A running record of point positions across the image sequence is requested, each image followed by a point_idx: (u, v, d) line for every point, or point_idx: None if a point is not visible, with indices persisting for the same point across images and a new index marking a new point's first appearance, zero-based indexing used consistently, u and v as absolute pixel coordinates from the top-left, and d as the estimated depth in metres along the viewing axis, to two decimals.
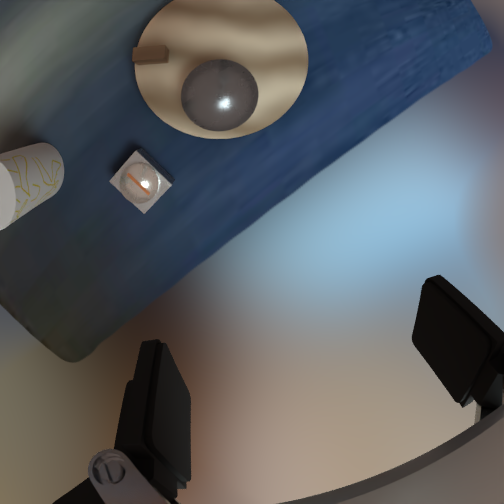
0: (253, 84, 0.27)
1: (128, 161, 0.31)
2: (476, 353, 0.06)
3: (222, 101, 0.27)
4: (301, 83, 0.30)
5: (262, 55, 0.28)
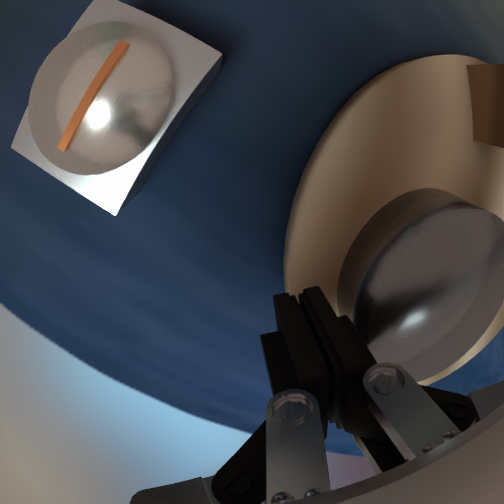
0: (455, 358, 0.11)
1: (175, 34, 0.07)
2: (331, 375, 0.07)
3: (437, 322, 0.09)
4: None
5: None
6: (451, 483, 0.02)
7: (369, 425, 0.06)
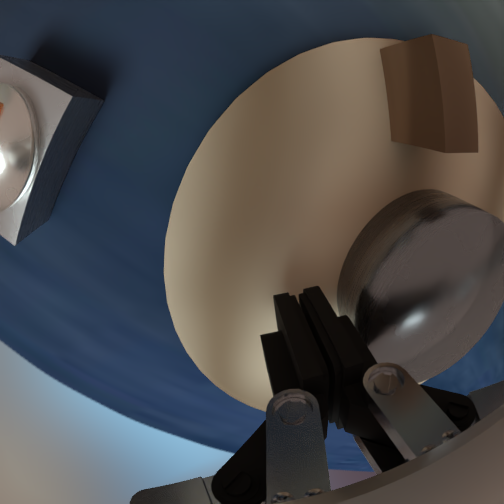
0: (454, 360, 0.11)
1: (38, 85, 0.06)
2: (331, 375, 0.07)
3: (437, 323, 0.09)
4: None
5: None
6: (451, 483, 0.02)
7: (369, 425, 0.06)
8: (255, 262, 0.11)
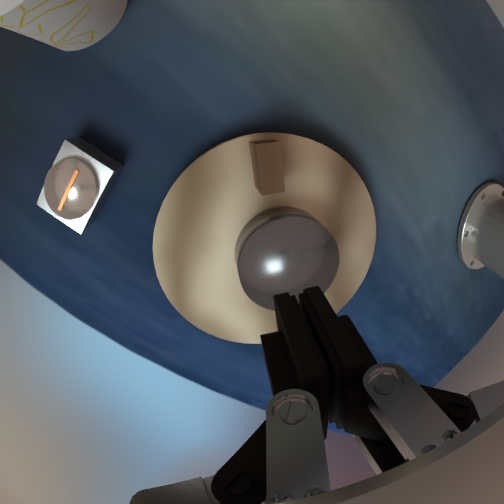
0: None
1: (96, 163, 0.19)
2: (331, 375, 0.07)
3: (281, 273, 0.22)
4: (256, 341, 0.29)
5: None
6: (451, 483, 0.02)
7: (369, 425, 0.06)
8: (192, 243, 0.24)
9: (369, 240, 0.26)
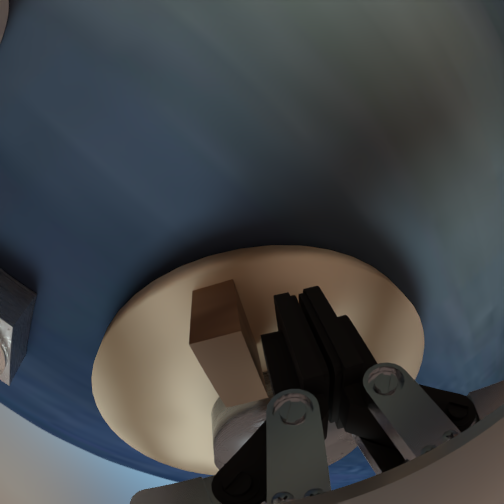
0: None
1: None
2: (331, 375, 0.07)
3: None
4: None
5: None
6: (451, 483, 0.02)
7: (369, 425, 0.06)
8: (151, 416, 0.14)
9: (412, 367, 0.15)
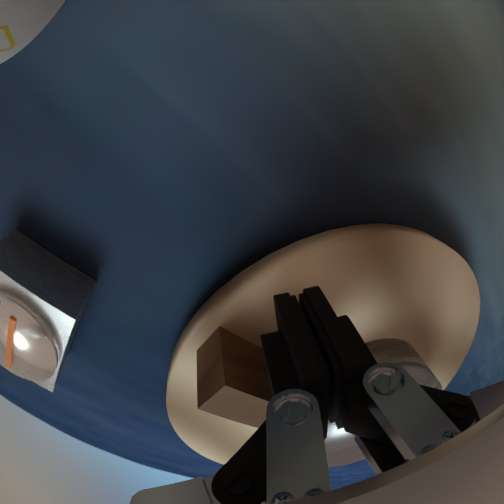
0: None
1: (41, 303, 0.09)
2: (331, 375, 0.07)
3: None
4: None
5: None
6: (451, 483, 0.02)
7: (369, 425, 0.06)
8: None
9: (467, 286, 0.13)
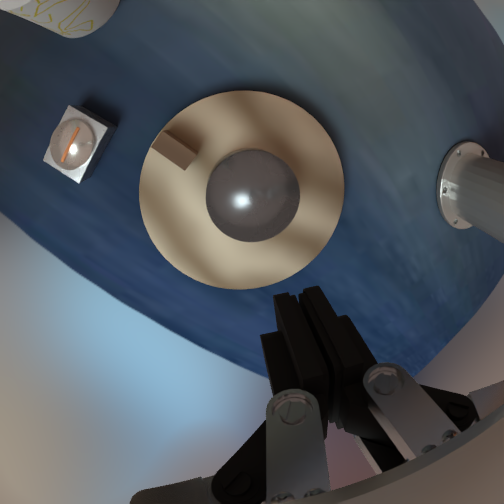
0: (293, 210, 0.25)
1: (93, 122, 0.22)
2: (332, 375, 0.07)
3: (250, 207, 0.25)
4: (298, 268, 0.31)
5: None
6: (451, 483, 0.02)
7: (369, 425, 0.06)
8: (185, 234, 0.28)
9: (311, 125, 0.25)
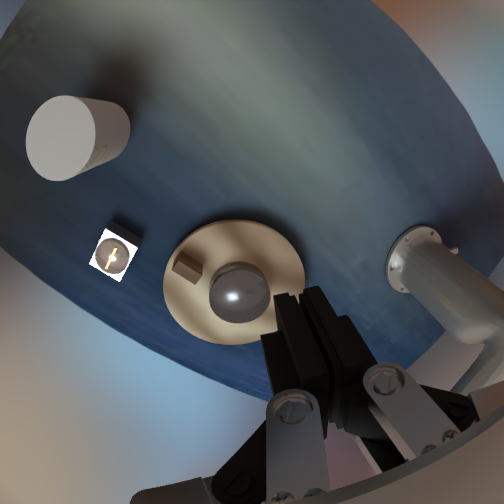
0: (266, 304, 0.39)
1: (126, 243, 0.35)
2: (331, 375, 0.07)
3: (238, 304, 0.38)
4: (272, 331, 0.45)
5: None
6: (451, 483, 0.02)
7: (369, 425, 0.06)
8: (196, 313, 0.42)
9: (281, 243, 0.39)
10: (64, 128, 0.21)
